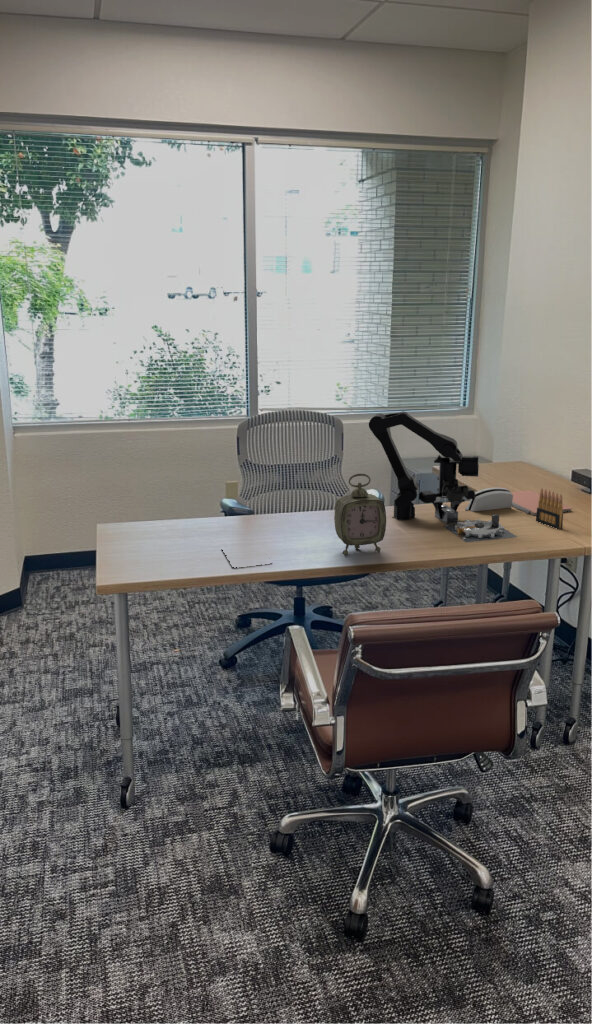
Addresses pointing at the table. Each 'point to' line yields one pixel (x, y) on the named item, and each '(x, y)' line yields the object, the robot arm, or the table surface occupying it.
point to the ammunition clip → (550, 509)
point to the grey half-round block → (490, 499)
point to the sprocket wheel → (480, 527)
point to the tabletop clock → (360, 517)
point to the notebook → (529, 502)
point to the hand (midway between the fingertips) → (446, 518)
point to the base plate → (473, 538)
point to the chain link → (448, 515)
